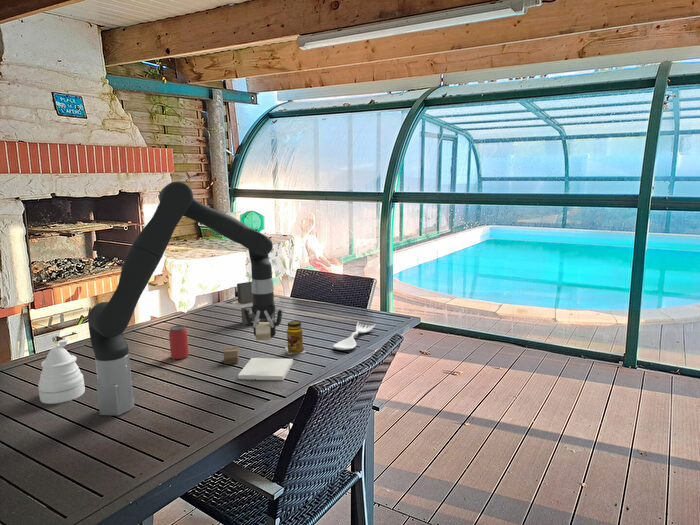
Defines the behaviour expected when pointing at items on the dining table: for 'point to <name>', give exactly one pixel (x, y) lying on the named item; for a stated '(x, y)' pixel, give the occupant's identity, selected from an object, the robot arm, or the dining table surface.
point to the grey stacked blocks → (247, 300)
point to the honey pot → (60, 377)
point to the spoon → (352, 338)
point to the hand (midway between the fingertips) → (265, 336)
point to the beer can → (178, 342)
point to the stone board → (266, 369)
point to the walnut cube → (231, 355)
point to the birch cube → (263, 331)
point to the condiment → (294, 338)
